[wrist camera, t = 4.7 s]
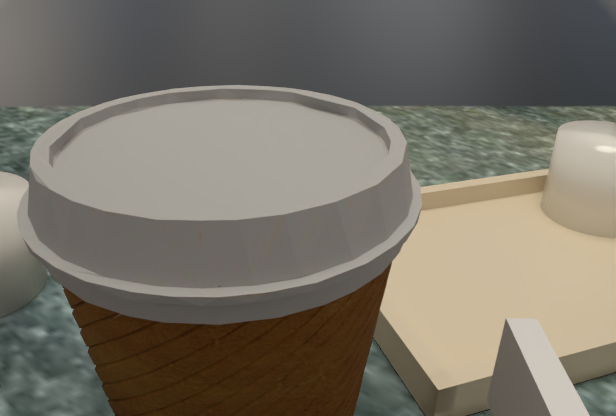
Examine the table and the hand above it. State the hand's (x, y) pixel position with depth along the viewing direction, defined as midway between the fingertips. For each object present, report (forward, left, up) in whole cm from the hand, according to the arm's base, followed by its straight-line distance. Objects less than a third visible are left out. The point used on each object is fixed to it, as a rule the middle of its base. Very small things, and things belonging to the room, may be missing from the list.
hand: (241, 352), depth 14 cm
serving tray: (-9, +18, -7) cm, 21 cm away
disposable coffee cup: (-2, 0, -7) cm, 7 cm away
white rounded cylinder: (-12, +25, -6) cm, 28 cm away
